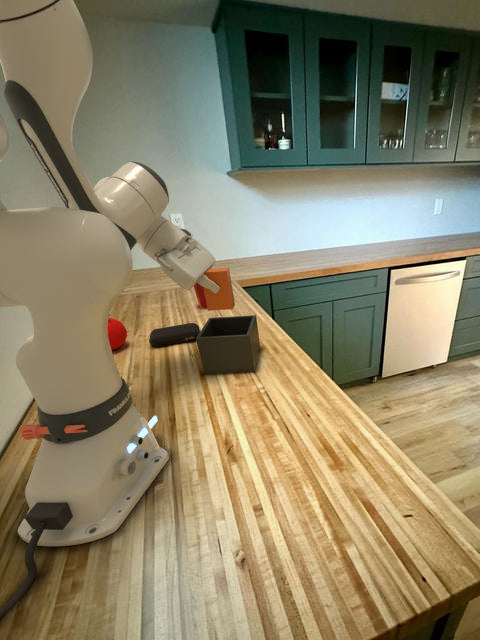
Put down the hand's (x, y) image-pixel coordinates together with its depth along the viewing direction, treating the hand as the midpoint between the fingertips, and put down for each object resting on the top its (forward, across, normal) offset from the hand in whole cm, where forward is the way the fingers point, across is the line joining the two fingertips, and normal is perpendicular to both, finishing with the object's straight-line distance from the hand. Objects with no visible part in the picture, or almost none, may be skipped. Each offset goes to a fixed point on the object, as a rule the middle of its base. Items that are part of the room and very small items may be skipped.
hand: (220, 287), depth 79 cm
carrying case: (-1, +16, +28) cm, 32 cm away
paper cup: (+1, +47, +27) cm, 54 cm away
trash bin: (+14, 0, +14) cm, 19 cm away
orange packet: (+3, 0, +4) cm, 5 cm away
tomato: (-13, +12, +41) cm, 45 cm away
